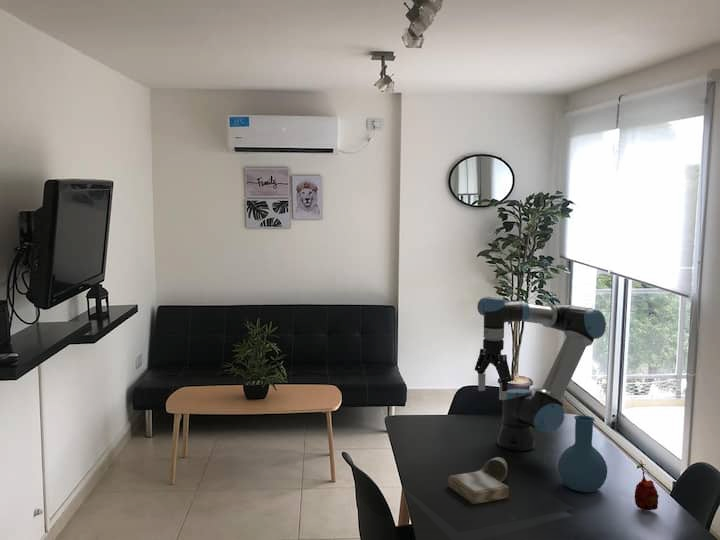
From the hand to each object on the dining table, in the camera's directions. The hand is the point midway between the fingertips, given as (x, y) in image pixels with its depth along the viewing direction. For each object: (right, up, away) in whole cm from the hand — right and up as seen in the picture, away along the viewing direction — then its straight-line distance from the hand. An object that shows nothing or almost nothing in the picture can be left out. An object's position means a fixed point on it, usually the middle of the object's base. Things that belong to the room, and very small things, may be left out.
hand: (491, 394), depth 245 cm
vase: (+29, -30, -13) cm, 44 cm away
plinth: (-9, -30, -19) cm, 37 cm away
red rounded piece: (+45, -32, -29) cm, 62 cm away
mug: (+1, -27, -1) cm, 27 cm away
